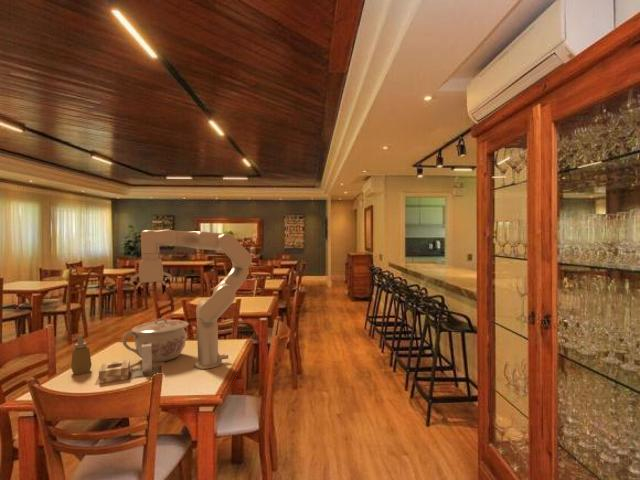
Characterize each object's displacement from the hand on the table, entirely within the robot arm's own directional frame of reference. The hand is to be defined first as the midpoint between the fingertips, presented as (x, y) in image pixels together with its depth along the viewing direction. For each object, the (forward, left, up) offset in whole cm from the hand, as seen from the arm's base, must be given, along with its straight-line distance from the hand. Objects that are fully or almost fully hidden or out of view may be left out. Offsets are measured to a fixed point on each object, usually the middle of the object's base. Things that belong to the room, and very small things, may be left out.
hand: (151, 294), depth 174 cm
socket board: (+10, 0, -36) cm, 38 cm away
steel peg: (+3, 0, -35) cm, 35 cm away
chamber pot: (-3, -22, -36) cm, 43 cm away
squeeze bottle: (+31, -14, -36) cm, 50 cm away
